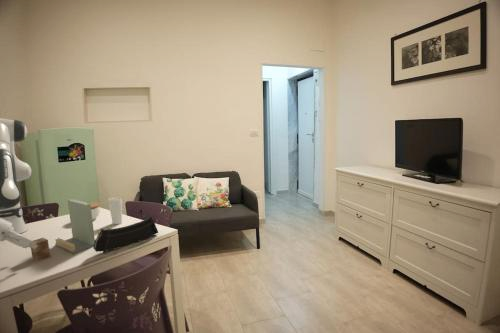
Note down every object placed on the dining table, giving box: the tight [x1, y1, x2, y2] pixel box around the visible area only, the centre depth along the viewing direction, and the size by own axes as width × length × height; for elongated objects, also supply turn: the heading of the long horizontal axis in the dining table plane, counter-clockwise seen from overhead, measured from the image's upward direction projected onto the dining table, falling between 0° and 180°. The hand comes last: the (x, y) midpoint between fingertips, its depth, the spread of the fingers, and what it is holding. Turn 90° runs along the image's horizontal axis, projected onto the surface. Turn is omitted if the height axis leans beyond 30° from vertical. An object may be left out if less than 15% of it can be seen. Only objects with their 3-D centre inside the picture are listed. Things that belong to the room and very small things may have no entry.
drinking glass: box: [108, 196, 123, 225], centre depth 166 cm, size 7×7×15 cm
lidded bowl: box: [86, 201, 101, 221], centre depth 174 cm, size 13×13×11 cm
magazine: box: [92, 216, 159, 254], centre depth 137 cm, size 17×3×30 cm
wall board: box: [54, 198, 96, 255], centre depth 135 cm, size 10×18×21 cm, turn 57°
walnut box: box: [30, 237, 51, 262], centre depth 124 cm, size 6×5×8 cm
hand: (31, 244), depth 122 cm, fingers open, 8 cm apart
